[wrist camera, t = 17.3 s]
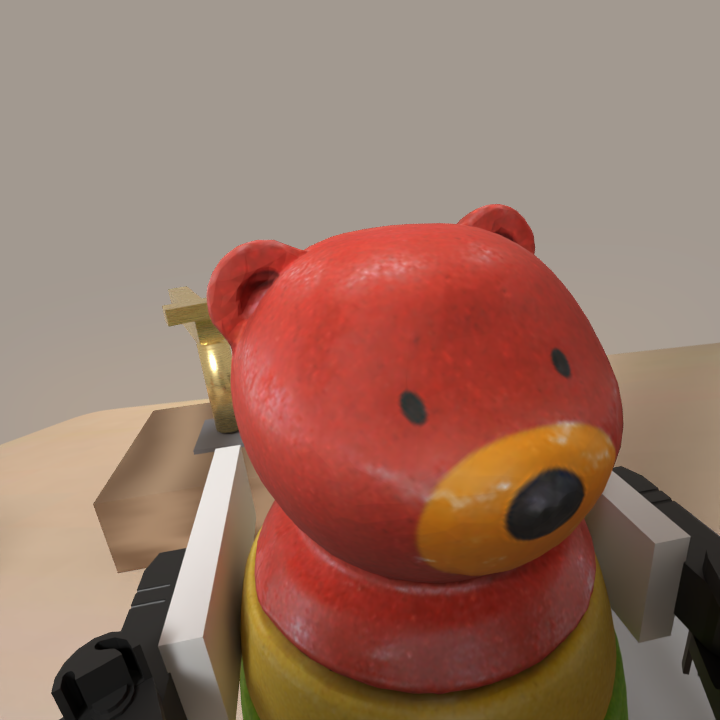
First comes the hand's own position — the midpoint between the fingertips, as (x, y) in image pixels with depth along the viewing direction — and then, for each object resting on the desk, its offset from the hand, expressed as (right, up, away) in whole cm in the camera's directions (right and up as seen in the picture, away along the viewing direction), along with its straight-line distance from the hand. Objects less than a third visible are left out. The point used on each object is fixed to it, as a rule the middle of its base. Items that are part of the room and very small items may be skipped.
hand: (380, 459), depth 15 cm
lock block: (-9, -7, +18) cm, 22 cm away
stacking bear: (+2, -11, -1) cm, 11 cm away
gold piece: (-13, 0, +22) cm, 25 cm away
